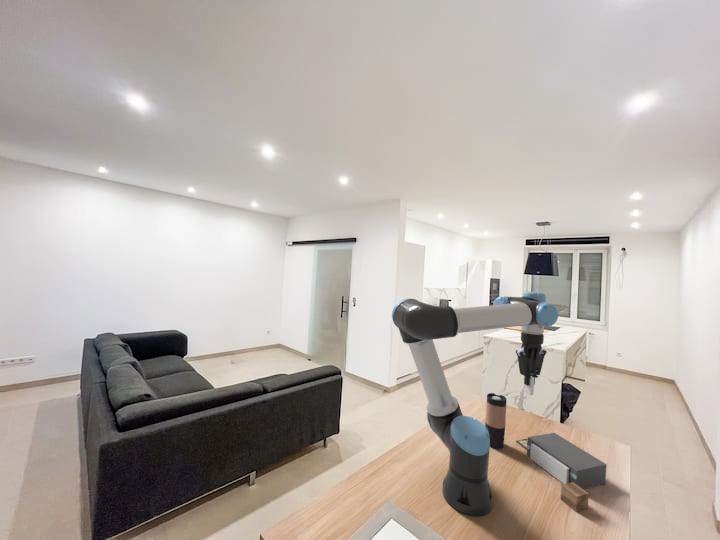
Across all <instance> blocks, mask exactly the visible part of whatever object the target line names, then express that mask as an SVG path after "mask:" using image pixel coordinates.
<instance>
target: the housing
mask: <svg viewBox="0 0 720 540" xmlns="http://www.w3.org/2000/svg"><path fill="white" fill-rule="evenodd" d="M527 439H528V441H527V446H526V448H527V450H526V455H527V456H529V457H530V451H531V444H532V443H534V444H535V445H536V446H538V447H539V448H541V449H543V450H545V451H546V452H548V453H549V454H551V455H552V456H554V457H555V458H556V459H558V460H559V461H561V462H562V463H564V464H565V465H567V466H568V467H569V468H571V472H569V475H570V483H572V482H573V483H575V484H576V485H578V486H579V487H580V488H582V489H583V490H586V489H590V488H594V487H598V485H599V486H603V485H605V484H606V479H607V463H606V462H604V461H602V460H600V459H599V458H597V457H595V456H593V455H592V454H590V453H589V452H588V451H585V450H584V449H582V448H580V447H579V446H577V445H575V444H574V443H572V442H570V441H569V440H567V439H565V438H564V437H562V436H560V435H559V434H557V433H556V432H551V433H545V434H539V435H533V436H528V437H527Z"/></svg>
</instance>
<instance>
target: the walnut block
mask: <svg viewBox="0 0 720 540" xmlns="http://www.w3.org/2000/svg"><path fill="white" fill-rule="evenodd" d="M560 487H561V489H560V500H561V501H562V502H563V503H564V504H566V505H567V506H568V507H569V508H571V510H573V511H574V512H576V513H577V512H581V511H584V510H588V507H589V496H590V495H589V493H588V492H587V491H586V490H585V489H582V488H580V487H579V486H578V485H576V484H575V483H573V482H572V483H568V484H563V483H562V484H561V486H560Z"/></svg>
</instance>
